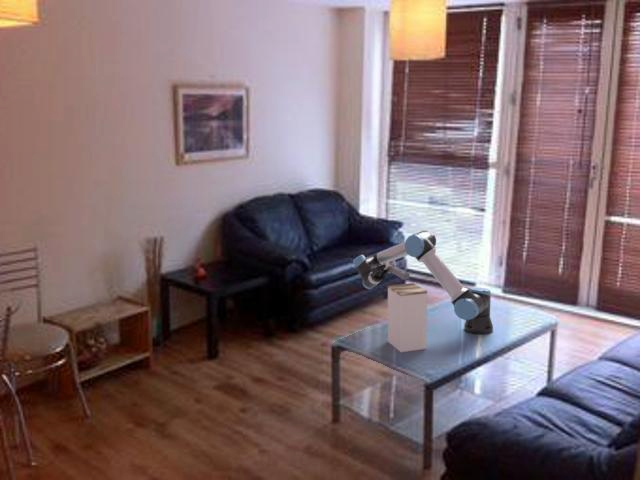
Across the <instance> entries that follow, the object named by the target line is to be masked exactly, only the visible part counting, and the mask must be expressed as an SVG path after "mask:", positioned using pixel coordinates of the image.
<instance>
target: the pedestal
mask: <svg viewBox="0 0 640 480" xmlns="http://www.w3.org/2000/svg"><path fill="white" fill-rule="evenodd" d="M427 310H428V291H427V290H426V289H425V288H423V287H421V286H419V285H417V283H416V284H415V283H413V282H412V283H411V282H410V283H409V282H408V283H401V284H392V285H387V343H389V344H390V345H391V346H393V348H394V349H396V350H397V351H398V352H400V353H406V352H412V351H418V350H419V351H420V350H426V349H427V343H428V342H427V329H428V325H427V324H428V323H427V322H428V320H427V319H428V317H427V315H428V311H427Z"/></svg>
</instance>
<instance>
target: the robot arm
mask: <svg viewBox="0 0 640 480" xmlns="http://www.w3.org/2000/svg"><path fill="white" fill-rule="evenodd" d="M436 244H437V238H436V235H435V233H433V232H432V231H429V230H422V231H419V232H417V233H412V234H410V235H409V236H408V237H407V238H406V240H405V241H403V242H401V243H399V244H397V245H393V246H391V247H388V248H387V249H384V250H381V251H379V252H377V253H374V254H371V255H368V256H365V255H364V254H360V255H358V256H356V257H355V258H354V259H353V260H352V263H353V265H354V267H355V268H356V270H357V272H358V273H359V275H360V277H361V279H362V286H363V287H364V288H365V289H368V290H371V289H374V288H375V287H376V286H377V285H378V284H379V283H381V282H382V281H383V280H384V279H385V278H386V276H387V275H388V274H390V275H392V274H393V273H391V272H389V271H387V270H386V269H387V268H388V267H389V266H390V265H389V263H391V264H393V265H395V266H397V264H396V263H397V262H396V260H398V259H401V258H405V257H406V256H409V257H412V258H415V259H416V260H417V262H418V263H422V264H424V266H425V267H426V268H427V269H428V271H429V272H430V273H431V274H432V276H433V277H434V278H435V279H436V281H437V282H438V283H439V284H440V286H441V287H442V288H443V289H444V291H445V292H446V293H447V294H448V296H449V297H450V300H451V301H450V303H451V304H452V306H453V310H454V311H453V312H454V313H455V315H456V316H457V317H458V318H459V319H461V320H464V327H463V328H464V329H463V330H464V331H466V332H468V333H471V334H477V335H487V334H491V333H493V331H494V326H493V322H492V318H491V301H492V300H491V299H492V298H491V297H492V294H491V290H490V289H488V288H484V287H475V286H474V287H469V288H468V287H467V288H466V287H464V286H463V284H462V283H461V282H460V281H459V279H458V278H457V277H456V276H455V275H454V273H453V272H452V270H450V267H448V265H446V263H445V262H444V260H442V259H441V257H440V256H439V254H437V252H436V251H437V249H436V247H435V246H437V245H436ZM383 263H385V264H384V265H383Z"/></svg>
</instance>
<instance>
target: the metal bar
mask: <svg viewBox="0 0 640 480" xmlns="http://www.w3.org/2000/svg"><path fill="white" fill-rule="evenodd" d="M391 263H392V262H389V265H390V266H389V267H388V268H387V269H386V270H387V271H389V272H391V273H392V274H393V275H395V276H396V277H399V278H400V279H402V280H404V281H405V280H410V273H409V272H408V271H406V270H404V269H402V268H401V267H398V266H397V265H396V266H395V265H393V264H391ZM384 264H385V263H383V265H384ZM391 273H390V274H391Z"/></svg>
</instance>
